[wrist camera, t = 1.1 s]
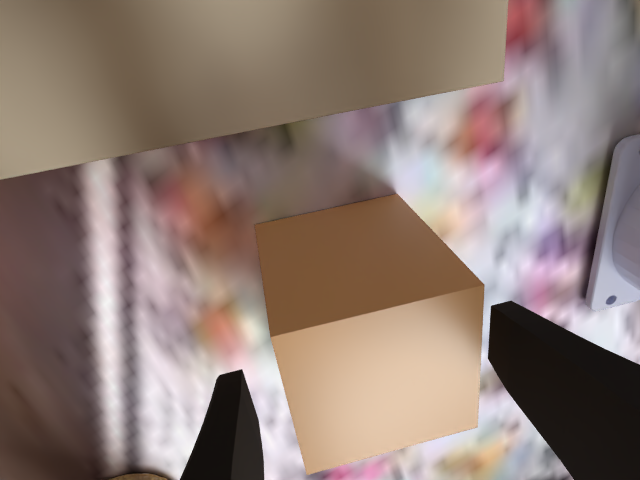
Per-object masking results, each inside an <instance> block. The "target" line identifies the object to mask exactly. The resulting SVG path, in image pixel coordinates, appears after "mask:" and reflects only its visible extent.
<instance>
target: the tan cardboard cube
mask: <svg viewBox="0 0 640 480" xmlns="http://www.w3.org/2000/svg"><path fill="white" fill-rule="evenodd" d="M255 231H256V238H257V245H258V252H259V259H260V266H261V273H262V280H263V287H264V295H265V302H266V309H267V316H268V323H269V330H270V337H271V341H272V345H273V348H274V352H275V356H276V360H277V364H278V367H279V371H280V375H281V379H282V382H283V386H284V390H285V394H286V398H287V401H288V405H289V409H290V413H291V416H292V420H293V424H294V428H295V432H296V435H297V439H298V443H299V447H300V450H301V454H302V458H303V462H304V466H305V469H306V473H307V475H309V474H312V473H316V472H319V471H323V470H327V469H330V468H334V467H337V466H341V465H344V464H348V463H352V462H355V461H359V460H362V459H366V458H369V457H373V456H377V455H380V454H384V453H387V452H391V451H395V450H398V449H402V448H405V447H409V446H412V445H416V444H420V443H423V442H427V441H430V440H434V439H437V438H441V437H445V436H448V435H452V434H455V433H459V432H463V431H466V430H470V429H473V428H477V427H478V408H479V387H480V367H481V346H482V325H483V304H484V284H483V283H482V282H481V281H480V280H479V279H478V278H477V277H476V275H475V274H474V273H473V272H472V271H471V270H470V269H469V268H468V267H467V266H466V265H465V264H464V263H463V262H462V261H461V260H460V259H459V258H458V257H457V256H456V255H455V254H454V252H453V251H452V250H451V249H450V248H449V247H448V246H447V245H446V244H445V243H444V242H443V241H442V240H441V239H440V238H439V237H438V236H437V235H436V234H435V233H434V232H433V231H432V229H431V228H430V227H429V226H428V225H427V224H426V223H425V222H424V221H423V220H422V219H421V218H420V217H419V216H418V215H417V214H416V213H415V212H414V211H413V210H412V209H411V208H410V207H409V205H408V204H407V203H406V202H405V201H404V200H403V199H402V198H401V197H400V196H399V195H398V194H394V195H389V196H385V197H380V198H376V199H371V200H367V201H362V202H357V203H353V204H348V205H344V206H339V207H334V208H330V209H325V210H321V211H316V212H311V213H307V214H302V215H298V216H293V217H288V218H284V219H279V220H275V221H270V222H265V223H261V224H256V225H255Z"/></svg>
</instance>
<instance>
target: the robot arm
mask: <svg viewBox="0 0 640 480" xmlns="http://www.w3.org/2000/svg"><path fill="white" fill-rule="evenodd" d="M639 150H640V134H638V135H633V136H628V137H626V138H623V139H622V140H621V141H620V142H619V143H618V144H617V145H616V147H615V150H614V153H613V158H612V163H611V169H610V174H609V179H608V184H607V189H606V195H605V200H604V205H603V210H602V216H601V221H600V226H599V231H598V237H597V242H596V247H595V252H594V258H593V263H592V268H591V273H590V279H589V284H588V289H587V294H586V300H585V304H586V306H587V307H589V308H590V309H591V310H593V311H600V310H604V309H608V308H612V307H616V306H619V305H623V304H627V303H631V302H635V301H639V300H640V151H639ZM488 359H489V361H490V363H491V365H492V366H493V368H494V370H495V372H496V373H497V375H498V377H499V378H500V380H501V382H502V383H503V385H504V387H505V388H506V390H507V391H508V393H509V394H510V395H511V397H512V398H513V399H514V401H515V402H516V403H517V405H518V406H519V407H520V408H521V410H522V411H523V412H524V414H525V415H526V416H527V418H528V419H529V420H530V421H531V423H532V424H533V425H534V427H535V428H536V429H537V430H538V432H539V433H540V434H541V436H542V437H543V438H544V440H545V441H546V442H547V443H548V445H549V446H550V447H551V449H552V450H553V451H554V452H555V454H556V455H557V456H558V458H559V459H560V460H561V462H562V463H563V464H564V466H565V467H566V469H567V470H568V471H569V473H570V474H571V476H572V477H573V479H574V480H640V365H639V364H637V363H635V362H632V361H630V360H628V359H626V358H623V357H621V356H619V355H617V354H615V353H612V352H610V351H608V350H606V349H604V348H602V347H600V346H598V345H596V344H594V343H592V342H590V341H588V340H586V339H584V338H582V337H580V336H578V335H576V334H574V333H572V332H570V331H568V330H566V329H564V328H562V327H560V326H558V325H556V324H555V323H553V322H551V321H549V320H547V319H545V318H543V317H541V316H540V315H538V314H536V313H534V312H532V311H530V310H528V309H526V308H524V307H522V306H520V305H519V304H516V303H514V302H512V301H508V302H504V303H500V304H496V305H492V306H491V316H490V333H489V350H488ZM180 480H264V460H263V450H262V442H261V435H260V428H259V420H258V417H257V414H256V411H255V408H254V405H253V402H252V398H251V395H250V392H249V389H248V386H247V383H246V380H245V377H244V374H243V370H242V369H241V370H237V371H234V372H230V373H226V374H222V375H219V377H218V378H217V379H216V383H215V387H214V391H213V394H212V398H211V401H210V404H209V407H208V410H207V413H206V416H205V419H204V422H203V425H202V427H201V430H200V433H199V435H198V438H197V440H196V443H195V446H194V448H193V451H192V453H191V456H190V458H189V460H188V462H187V465H186V467H185V469H184V471H183V474H182V476H181V478H180Z"/></svg>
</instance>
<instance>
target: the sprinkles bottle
mask: <svg viewBox="0 0 640 480" xmlns="http://www.w3.org/2000/svg"><path fill="white" fill-rule="evenodd" d="M108 480H168V479H166V478H164V477H159V476H157V475H153V474H147V473H143V474H140V473H135V474H127V475H122V476H119V477H115V478H111V479H108Z"/></svg>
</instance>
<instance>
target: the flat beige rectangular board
mask: <svg viewBox="0 0 640 480" xmlns="http://www.w3.org/2000/svg"><path fill="white" fill-rule="evenodd" d="M507 13H508V0H0V180H1V179H6V178H11V177H16V176H21V175H26V174H31V173H36V172H42V171H47V170H52V169H57V168H62V167H67V166H72V165H77V164H82V163H88V162H93V161H98V160H103V159H108V158H113V157H118V156H123V155H128V154H134V153H139V152H144V151H149V150H154V149H159V148H164V147H169V146H175V145H180V144H185V143H190V142H195V141H200V140H205V139H210V138H215V137H221V136H226V135H231V134H236V133H241V132H246V131H251V130H256V129H261V128H267V127H272V126H277V125H282V124H287V123H292V122H297V121H302V120H307V119H313V118H318V117H323V116H328V115H333V114H338V113H343V112H348V111H353V110H359V109H364V108H369V107H374V106H379V105H384V104H389V103H394V102H400V101H405V100H410V99H415V98H420V97H425V96H430V95H435V94H440V93H446V92H451V91H456V90H461V89H466V88H471V87H476V86H481V85H486V84H492V83H497V82H502V81H504V64H505V47H506V30H507Z"/></svg>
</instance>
